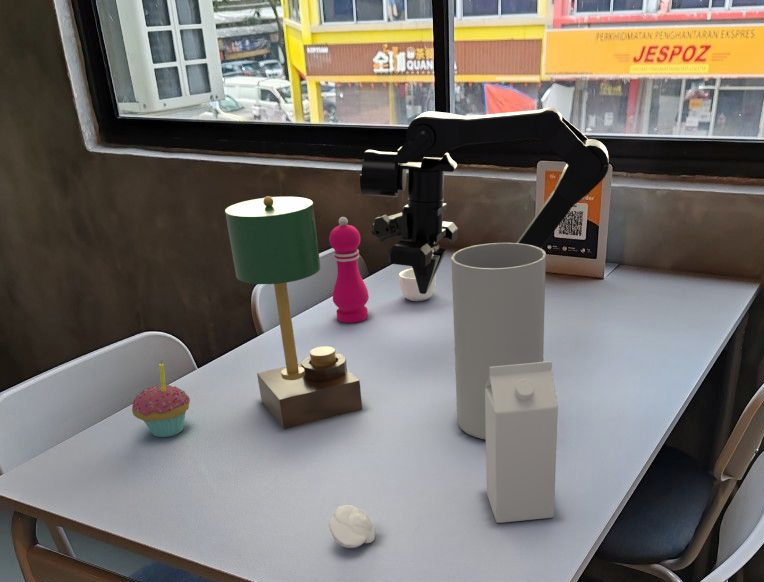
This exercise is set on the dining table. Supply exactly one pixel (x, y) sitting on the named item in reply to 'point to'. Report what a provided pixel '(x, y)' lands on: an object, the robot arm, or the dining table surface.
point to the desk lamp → (275, 254)
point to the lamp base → (310, 393)
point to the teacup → (414, 286)
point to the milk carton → (521, 441)
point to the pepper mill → (348, 274)
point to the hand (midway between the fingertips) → (423, 293)
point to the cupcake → (162, 408)
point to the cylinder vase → (494, 319)
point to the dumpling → (351, 527)
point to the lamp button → (322, 356)
